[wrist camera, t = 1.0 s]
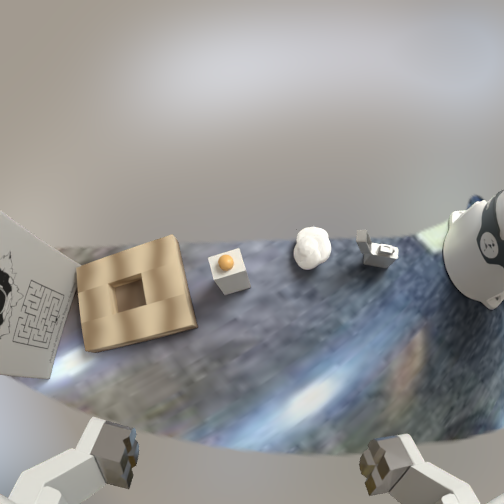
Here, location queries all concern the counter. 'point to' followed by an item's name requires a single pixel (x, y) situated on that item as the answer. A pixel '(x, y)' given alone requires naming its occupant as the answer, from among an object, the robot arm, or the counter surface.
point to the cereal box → (31, 300)
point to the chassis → (134, 296)
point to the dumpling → (312, 247)
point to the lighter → (375, 251)
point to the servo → (229, 271)
